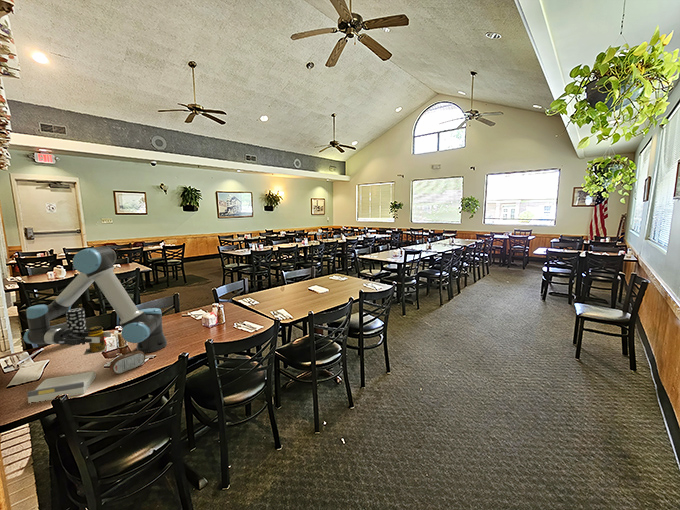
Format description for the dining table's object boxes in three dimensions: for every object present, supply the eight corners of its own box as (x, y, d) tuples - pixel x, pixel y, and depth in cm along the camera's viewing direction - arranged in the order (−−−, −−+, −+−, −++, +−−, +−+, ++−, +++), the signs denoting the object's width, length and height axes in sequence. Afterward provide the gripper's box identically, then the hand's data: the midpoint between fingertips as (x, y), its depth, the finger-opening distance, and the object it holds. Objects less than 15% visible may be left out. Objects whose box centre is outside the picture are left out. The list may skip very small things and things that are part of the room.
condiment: (105, 351, 146) (102, 328, 144) (83, 355, 142) (80, 332, 140) (107, 345, 152) (104, 323, 151) (86, 349, 148) (83, 327, 146)
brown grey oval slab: (144, 362, 154) (142, 347, 152) (147, 364, 152) (145, 349, 151) (110, 375, 141) (108, 359, 140) (113, 377, 139) (111, 361, 138)
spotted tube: (90, 340, 179) (87, 308, 176) (74, 345, 171) (71, 313, 168) (81, 338, 182) (78, 307, 179) (65, 343, 174) (61, 311, 171)
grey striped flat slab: (95, 377, 139) (94, 367, 139) (83, 394, 126) (82, 383, 126) (46, 385, 132) (44, 375, 131) (28, 404, 119) (26, 392, 119)
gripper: (78, 335, 157) (120, 336, 156) (41, 352, 138) (89, 353, 137) (76, 322, 155) (118, 322, 155) (39, 337, 137) (87, 338, 136)
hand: (104, 337), depth 146 cm, fingers closed on condiment, 6 cm apart
